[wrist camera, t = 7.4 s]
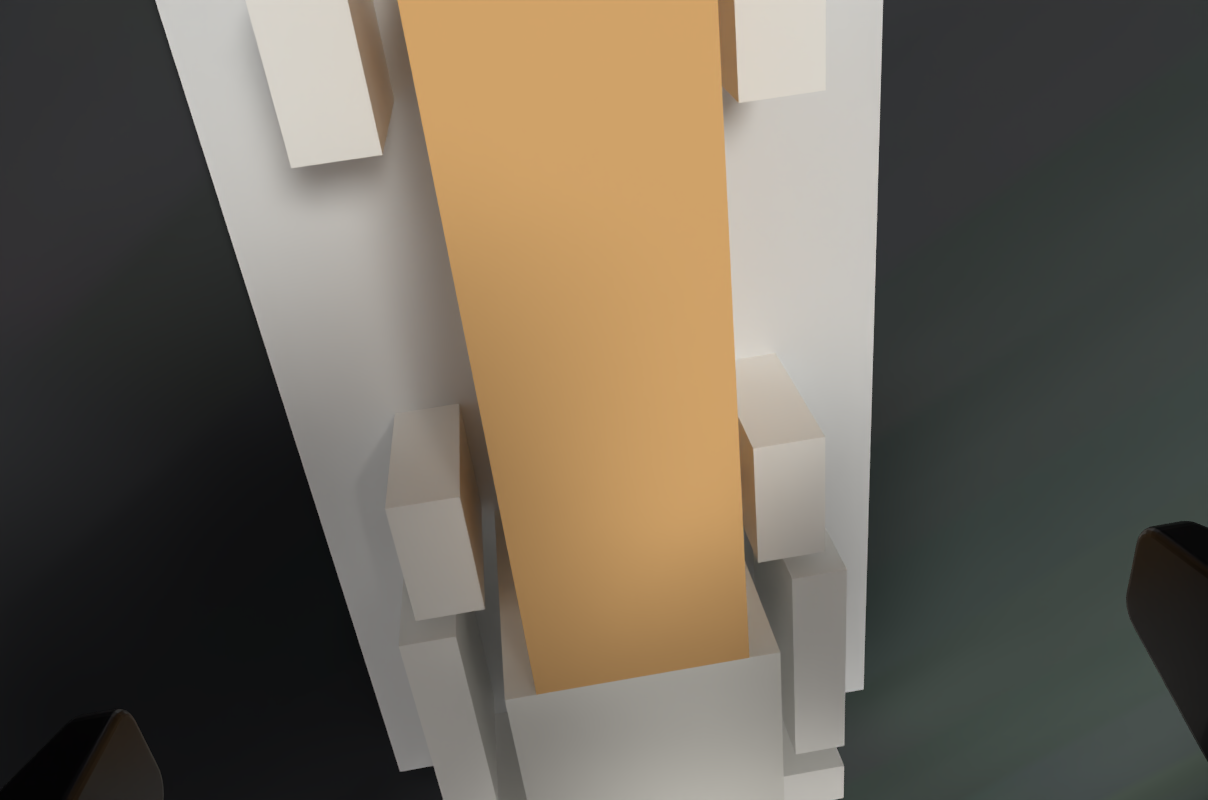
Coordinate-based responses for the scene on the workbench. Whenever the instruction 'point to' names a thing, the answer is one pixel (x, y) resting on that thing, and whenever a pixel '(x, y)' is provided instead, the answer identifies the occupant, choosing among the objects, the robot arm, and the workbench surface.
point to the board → (442, 367)
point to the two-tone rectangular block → (605, 387)
